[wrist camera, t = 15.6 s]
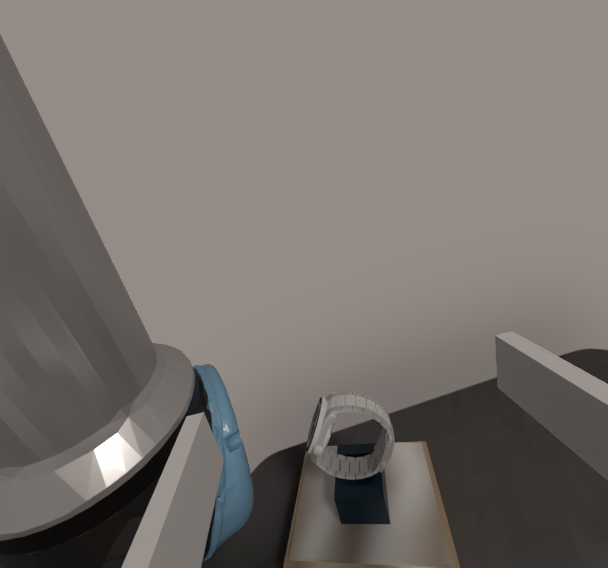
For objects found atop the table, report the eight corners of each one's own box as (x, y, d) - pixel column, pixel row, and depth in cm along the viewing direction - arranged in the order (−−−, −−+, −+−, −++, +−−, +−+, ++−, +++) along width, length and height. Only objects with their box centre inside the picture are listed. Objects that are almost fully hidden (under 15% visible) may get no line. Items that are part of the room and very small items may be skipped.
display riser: (294, 594, 25) (281, 564, 24) (313, 469, 36) (305, 444, 35) (467, 608, 22) (462, 573, 21) (429, 465, 33) (425, 438, 32)
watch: (326, 468, 31) (301, 385, 28) (401, 465, 29) (382, 375, 27) (320, 524, 26) (288, 429, 23) (411, 525, 24) (389, 421, 21)
